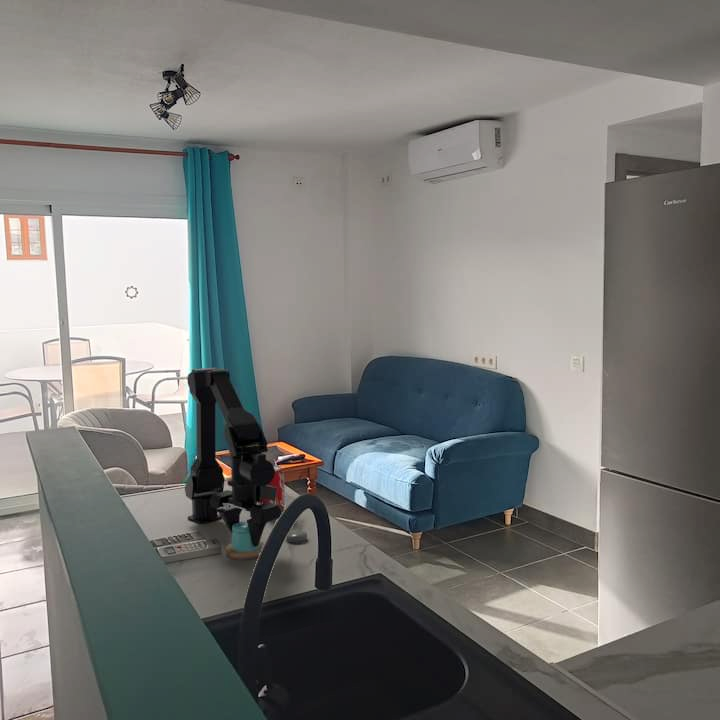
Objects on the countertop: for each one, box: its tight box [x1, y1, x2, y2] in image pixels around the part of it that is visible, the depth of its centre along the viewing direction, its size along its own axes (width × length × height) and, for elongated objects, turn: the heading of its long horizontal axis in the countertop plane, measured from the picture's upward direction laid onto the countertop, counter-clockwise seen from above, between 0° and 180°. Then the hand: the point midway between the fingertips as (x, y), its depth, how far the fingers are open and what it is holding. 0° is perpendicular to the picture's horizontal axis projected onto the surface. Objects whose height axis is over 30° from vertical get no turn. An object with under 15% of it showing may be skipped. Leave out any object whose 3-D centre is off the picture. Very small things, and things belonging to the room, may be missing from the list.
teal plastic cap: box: [231, 520, 260, 552], centre depth 163 cm, size 6×6×5 cm
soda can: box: [257, 464, 285, 511], centre depth 191 cm, size 7×7×12 cm
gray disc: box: [285, 530, 308, 544], centre depth 171 cm, size 5×5×2 cm
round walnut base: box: [225, 540, 265, 561], centre depth 163 cm, size 9×9×2 cm
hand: (245, 542), depth 163 cm, fingers open, 7 cm apart
